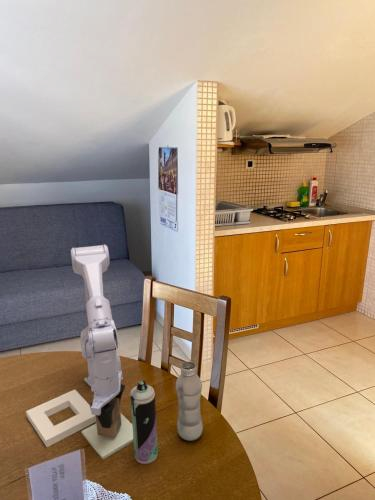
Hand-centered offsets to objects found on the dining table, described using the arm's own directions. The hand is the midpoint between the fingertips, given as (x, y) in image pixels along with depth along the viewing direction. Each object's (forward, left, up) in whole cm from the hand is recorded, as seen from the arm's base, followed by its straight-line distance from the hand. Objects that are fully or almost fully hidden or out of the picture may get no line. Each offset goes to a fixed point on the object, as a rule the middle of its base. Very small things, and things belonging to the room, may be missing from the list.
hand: (110, 419), depth 98 cm
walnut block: (0, 0, -3) cm, 3 cm away
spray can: (-3, +11, -5) cm, 12 cm away
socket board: (+7, -14, -5) cm, 16 cm away
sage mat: (0, 0, -5) cm, 5 cm away
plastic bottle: (-15, +13, -5) cm, 20 cm away
